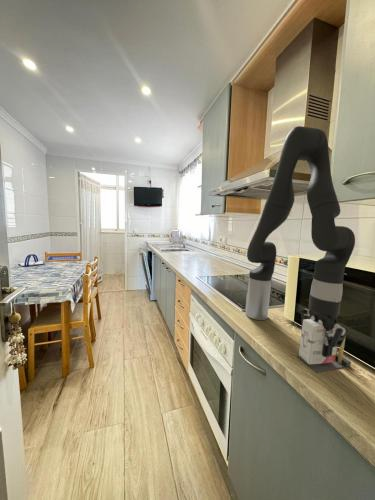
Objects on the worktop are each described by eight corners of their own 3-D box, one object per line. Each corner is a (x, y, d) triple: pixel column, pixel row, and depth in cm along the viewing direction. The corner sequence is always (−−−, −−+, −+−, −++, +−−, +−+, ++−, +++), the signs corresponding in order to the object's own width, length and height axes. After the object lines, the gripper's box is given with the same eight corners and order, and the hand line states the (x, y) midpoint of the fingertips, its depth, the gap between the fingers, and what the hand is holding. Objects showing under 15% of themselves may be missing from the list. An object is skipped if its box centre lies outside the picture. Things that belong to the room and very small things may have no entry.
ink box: (322, 353, 66) (327, 317, 64) (335, 363, 61) (341, 325, 60) (297, 354, 65) (302, 318, 63) (309, 365, 60) (314, 326, 58)
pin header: (322, 353, 68) (326, 327, 67) (328, 352, 69) (332, 326, 67) (343, 367, 61) (348, 338, 60) (350, 366, 62) (354, 338, 61)
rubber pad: (297, 356, 65) (297, 355, 65) (322, 353, 68) (322, 352, 68) (316, 372, 59) (316, 371, 59) (343, 367, 61) (343, 366, 61)
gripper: (295, 288, 66) (289, 338, 68) (338, 306, 52) (329, 368, 55) (315, 287, 68) (308, 336, 70) (361, 304, 54) (351, 364, 57)
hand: (317, 350), depth 62 cm, fingers closed on ink box, 5 cm apart
